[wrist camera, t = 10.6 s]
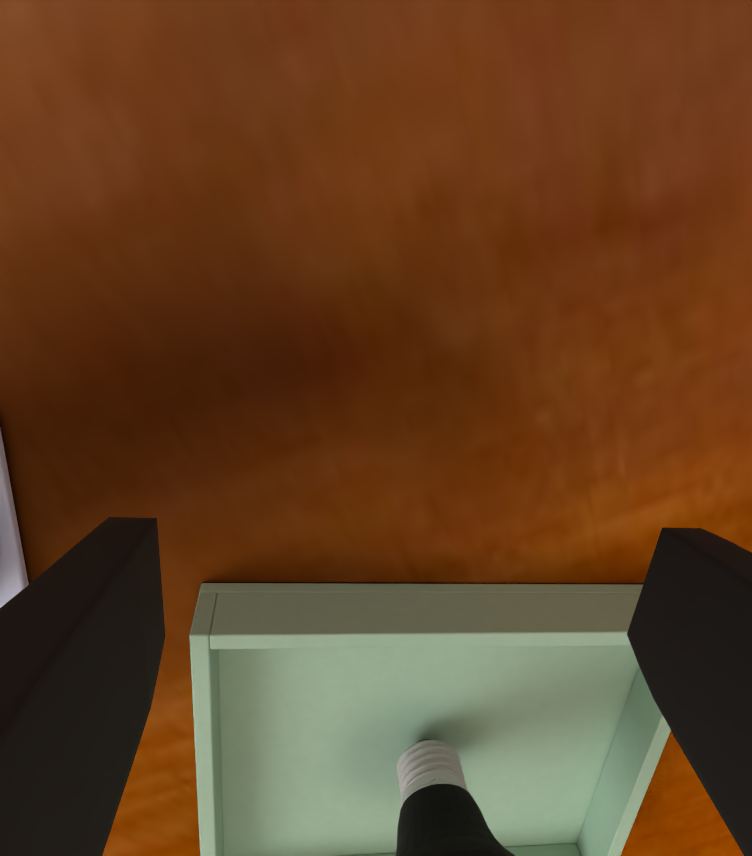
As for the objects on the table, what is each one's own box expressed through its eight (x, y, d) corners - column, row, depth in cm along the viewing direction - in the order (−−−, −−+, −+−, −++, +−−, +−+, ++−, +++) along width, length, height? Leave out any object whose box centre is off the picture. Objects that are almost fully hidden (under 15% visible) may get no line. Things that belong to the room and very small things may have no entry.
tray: (211, 858, 28) (203, 922, 25) (201, 582, 21) (189, 635, 19) (581, 839, 30) (604, 896, 28) (672, 583, 23) (711, 631, 21)
